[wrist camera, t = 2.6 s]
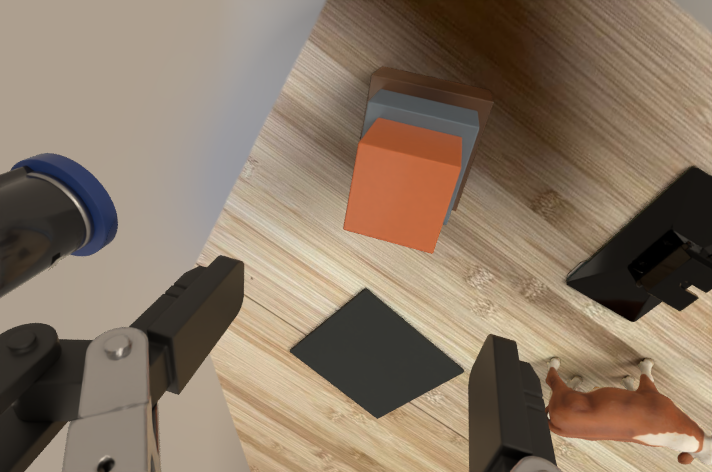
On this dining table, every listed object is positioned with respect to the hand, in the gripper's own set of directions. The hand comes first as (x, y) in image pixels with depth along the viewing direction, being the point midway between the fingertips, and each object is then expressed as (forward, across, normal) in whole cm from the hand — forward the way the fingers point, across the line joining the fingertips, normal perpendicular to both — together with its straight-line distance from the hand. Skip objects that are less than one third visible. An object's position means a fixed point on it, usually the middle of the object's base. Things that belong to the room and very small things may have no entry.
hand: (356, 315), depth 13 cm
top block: (+14, 0, 0) cm, 14 cm away
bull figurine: (+22, -23, +18) cm, 37 cm away
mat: (+22, -1, +26) cm, 34 cm away
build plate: (+22, -20, +5) cm, 30 cm away
